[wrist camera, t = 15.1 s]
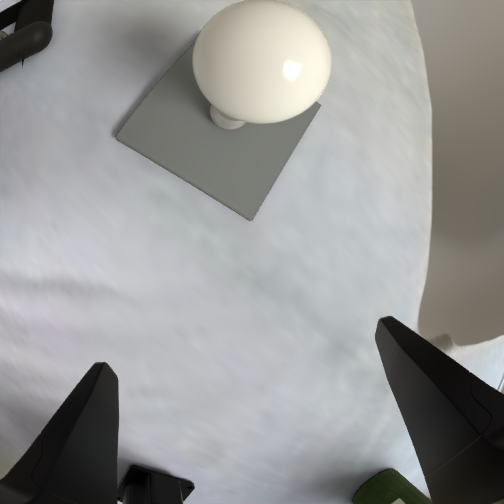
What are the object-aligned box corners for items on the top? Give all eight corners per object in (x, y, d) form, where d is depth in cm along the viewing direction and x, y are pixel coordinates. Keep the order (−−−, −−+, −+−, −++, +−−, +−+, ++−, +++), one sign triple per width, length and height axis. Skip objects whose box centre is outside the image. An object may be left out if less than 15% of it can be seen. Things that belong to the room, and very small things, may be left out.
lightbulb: (167, 138, 18) (171, 47, 7) (203, 65, 18) (240, -42, 7) (254, 171, 20) (342, 122, 9) (281, 98, 20) (367, 19, 9)
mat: (249, 221, 21) (252, 220, 20) (116, 140, 18) (115, 137, 17) (317, 107, 21) (321, 105, 21) (204, 35, 18) (206, 31, 18)
